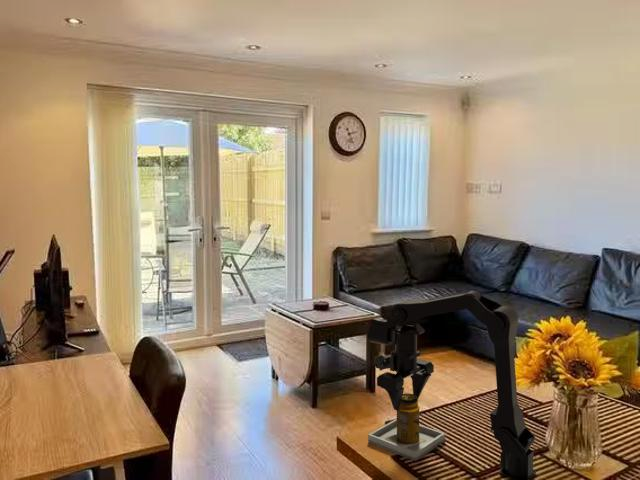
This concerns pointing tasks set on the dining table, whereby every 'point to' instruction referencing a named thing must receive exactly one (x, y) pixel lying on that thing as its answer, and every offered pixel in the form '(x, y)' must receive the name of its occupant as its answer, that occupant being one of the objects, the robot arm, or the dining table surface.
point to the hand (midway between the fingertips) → (406, 404)
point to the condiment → (407, 422)
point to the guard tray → (411, 452)
